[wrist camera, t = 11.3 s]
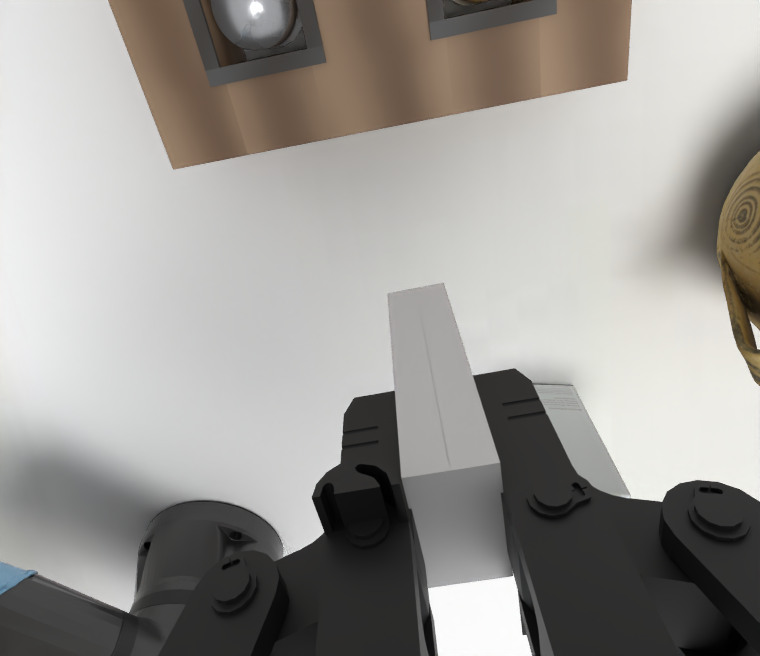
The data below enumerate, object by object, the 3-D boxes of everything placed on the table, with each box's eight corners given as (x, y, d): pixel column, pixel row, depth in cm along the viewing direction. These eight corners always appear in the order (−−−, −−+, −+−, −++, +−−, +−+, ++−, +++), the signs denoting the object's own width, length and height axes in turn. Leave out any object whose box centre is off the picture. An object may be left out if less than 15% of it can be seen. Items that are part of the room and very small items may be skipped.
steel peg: (249, 53, 32) (226, 57, 27) (228, -23, 30) (198, -33, 25) (311, 40, 31) (298, 41, 27) (294, -39, 29) (277, -52, 25)
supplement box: (492, 380, 45) (528, 492, 34) (575, 384, 45) (636, 496, 34) (480, 442, 49) (509, 561, 38) (556, 445, 49) (606, 564, 38)
